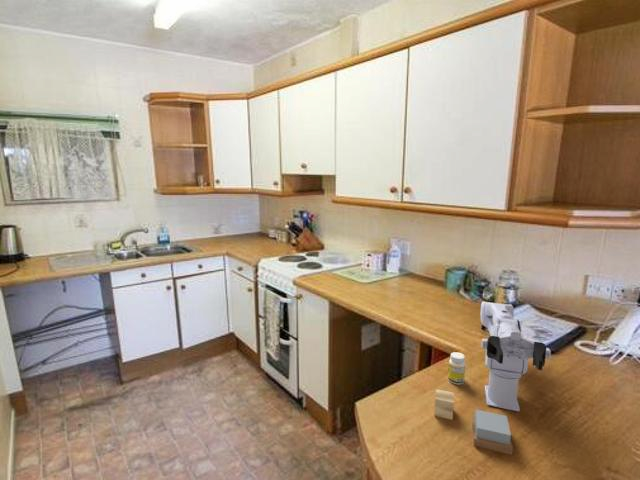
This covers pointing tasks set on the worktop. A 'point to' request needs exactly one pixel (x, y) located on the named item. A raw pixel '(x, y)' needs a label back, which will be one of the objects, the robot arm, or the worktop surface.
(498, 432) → the slate slab
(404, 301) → the worktop surface
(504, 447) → the walnut slab
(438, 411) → the oak block
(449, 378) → the supplement bottle
